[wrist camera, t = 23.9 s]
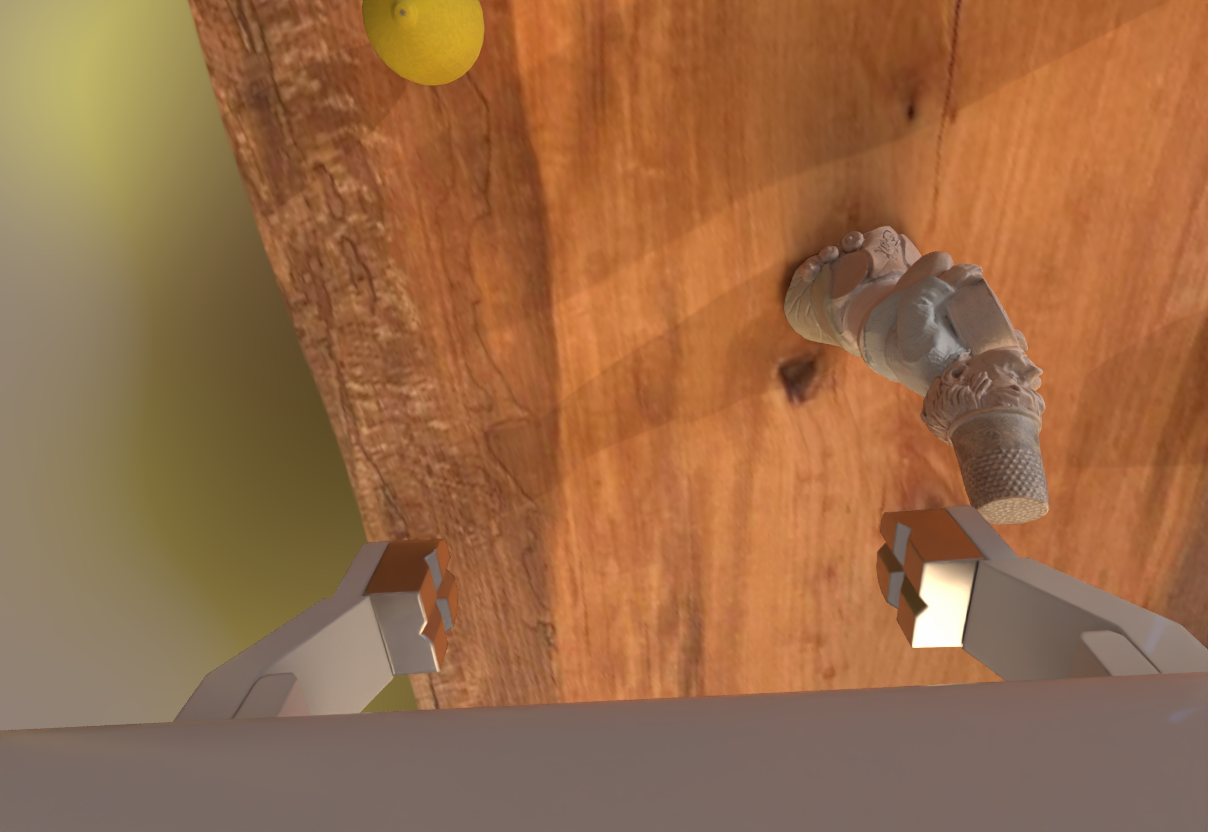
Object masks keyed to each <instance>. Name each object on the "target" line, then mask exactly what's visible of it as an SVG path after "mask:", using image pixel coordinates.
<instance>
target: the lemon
mask: <svg viewBox="0 0 1208 832" xmlns="http://www.w3.org/2000/svg"><path fill="white" fill-rule="evenodd" d="M362 12H363V23H364V26H365V29H366V33H367V36H368V39H369V41H370V42H371V44H372V46H373V48H374V50H375V51H376V53H377V55H378V56H379V57H380V58H381V59H382V60H383V61H384V63H385V64H386V65H387V66H388V67H389V68H390V69H392V70H393V71H394V72H396V73H397V74H399V75H400V76H401V77H403V78H405V79H408V80H410V81H413V82H415V83H418V84H424V85H432V86H434V85H441V84H447V83H450V82H452V81H454V80H456V79H458V78H460V77H461V76H462V75H464V74H465V73H466V72H467V71H468V70H469V69H470V68H471V67H472V65H473V64H474V62H475V61H476V59H477V58H478V56H479V53H480V50H481V47H482V44H483V36H484V20H483V12H482V9H481V6H480V3H479V0H363V3H362Z"/></svg>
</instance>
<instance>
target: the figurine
mask: <svg viewBox="0 0 1208 832" xmlns="http://www.w3.org/2000/svg"><path fill="white" fill-rule="evenodd" d="M982 272H983V269H982V268H981V267H980V266H977V265H975V264H965V263H960V264H957V265H954V263H953V260H952V258H951V256H950V254H949V253H946V252H942V251H935V252H931V253H929V254H926V255H924V256H923V257H921V255H920V253H919V251H918V250H917V248H916V247H915V246H914V244H913V243H912V242H911V241H910V240H909V239H908V237H906V236H905V235H903V234H899V235H897V233H896V232H895V231H894V230H893V229H892V228H891V227H890V226H883V227H879V228H876V229H875V230H872V231H868V232H866V233H864V234H861V233H860V232H856V231H852V232H849V233H847V234H845V235H844V237H843V239H842V241H841V243H839V244H837V245H835V246H831V245H830V246H826V247H825V248H823V249H822V250H821V251H820V252H819V255H815V256H812V257H809V258H807V260H806V261H805V262H804V263H803V264H801V265H800V267H799V268H798V269H797V270H796V272H795V274H794V276H793V278H792V281H791V283H790V287H789V288H788V292H787V294H786V297H785V305H784V312H785V315H786V318H787V321H788V322H789V324H790V325H791V326H792V328H793V329H794V331H796V332H797V333H798V334H801V335H802V337H804V338H806V339H807V340H811V341H815V342H819V343H821V342H822V343H824V344H831V345H837V346H839V347H841V348H843V349H845V350H846V351H847V352H849V353H851V354H852V355H854V356H857V357H862V359H863V360H864V362H865V363H866V364H867V365H868V366H869V367H870V368H871V369H872V370H873V371H875V372H876V373H878V374H880V375H882V376H885V377H886V379H888V380H890V381H894V382H901V383H902V384H904V385H905V386H906V387H907V388H909V389H910V390H912V391H914V392H916V393H918V394H920V395H922V396H923V397H925V399H924V401H923V409H922V412H921V414H920V417H921V419H922V421H923V422H925V423H926V425H927V427H928V428H929V430H930V431H931V432H933V433H934V434H935V436H936V437H937V438H939V440H940V441H944V443H946V444H948V445H952V446H953V447H954V451H955V453H956V456H957V459H958V463H959V467H960V470H961V474H962V478H963V482H964V486H965V490H966V492H967V495H968V497H969V501H970V504H971V506H972V507H974V508H975V509H976V510H977V511H978V512H979V513H980V514H981V515H982V516H983V518H984V519H985V520H986V521H987V522H988V523H994V524H1003V525H1005V524H1018V523H1025V522H1027V521H1032V520H1037V519H1039V518H1041V517H1043V516H1044V515H1045V514H1046V513H1047V511H1048V510H1049V498H1048V488H1047V482H1046V478H1045V472H1044V468H1043V462H1042V458H1041V453H1040V446H1039V437H1038V434H1039V433H1040V431H1041V422H1042V419H1041V415H1042V412H1044V410H1045V403H1044V401H1043V398H1042V397H1041V396H1040V395H1039V394H1038V393H1037V392H1036V390H1037V389H1038V388H1039V387H1040V385H1041V379H1040V377H1038V376H1040V375H1041V374H1042V373H1043V371H1042V369H1041V368H1038V367H1037V366H1035V365H1034V363H1033V362H1031V361H1030V360H1029V358H1028V356H1027V355H1025V354H1024V352H1026V351H1027V349H1028V345H1027V343H1026V341H1025V338H1024V335H1023V334H1022V333H1021V332H1020V331H1019V330H1016V329H1014V328H1013V325H1012V323H1011V321H1010V320H1009V318H1008V316H1007V314H1006V312H1005V310H1004V308H1003V306H1002V305H1001V303H1000V301H999V299H998V298H997V296H996V294H995V293H994V292H993V290H992V289H991V288H990V286H989V285H988V283H987V282H986V281H985V279H984V278H983V277H982V275H981V274H982Z"/></svg>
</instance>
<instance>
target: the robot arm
mask: <svg viewBox="0 0 1208 832" xmlns="http://www.w3.org/2000/svg"><path fill="white" fill-rule="evenodd" d="M880 533H881V534H882V536H883V538H884V539H885V541H886V543H885V544H884V545H883V546H882V547H881V548H880V549H879V550H878V552H877V564H876V568H877V576H878V583H879V586H880V589H881V592H882V594H883V596H884V598H885V600H886V602H887V603H889V604H890V605H892V606H894V607H895V608H897V609H898V612H897V622H898V624H899V626H900V627H901V629H902V631H903V633H904V635H905V636H906V638H907V640H908V642H909V644H910V645H911V647H952V646H962V649H964V650H965V651H966V652H968V653H969V654H970V655H972V656H973V657H974V658H976V659H977V660H978V661H980V662H981V663H982V664H984V665H985V666H987V667H988V668H989V669H991V670H992V671H993V672H995V673H996V674H997V675H999V676H1000V677H1001V678H1003V679H1004V680H1006V681H1004V682H983V683H963V684H943V685H922V686H902V687H882V688H861V689H841V690H821V691H800V692H780V693H760V694H739V695H719V696H698V697H678V698H657V699H637V700H616V701H596V702H575V703H555V704H534V705H514V706H493V707H473V708H452V709H432V710H411V711H393V712H372V713H371V712H370V713H360V712H361V711H362V710H363V709H364V708H365V707H366V706H367V705H368V704H369V703H370V702H371V701H372V699H373V698H374V697H375V696H376V695H377V694H378V693H379V692H380V691H381V690H382V689H383V688H384V687H385V686H386V685H387V684H388V683H389V682H390V681H391V680H392V679H393V676H394V675H407V674H419V673H432V672H440V669H441V666H442V663H443V660H444V656H445V653H446V650H447V647H448V641H447V636H446V632H448V631H449V630H450V629H451V628H452V627H454V624H455V620H456V617H457V609H458V589H457V583H456V578H455V576H454V575H453V574H452V573H451V572H450V571H448V570H447V567H448V564H449V561H450V558H451V556H450V552H449V549H448V545H447V542H446V541H445V540H444V539H430V540H406V541H392V542H391V541H383V542H368V543H366V544H364V545H362V546H361V548H360V550H359V551H358V553H357V555H356V556H355V558H354V560H353V562H352V563H351V565H350V567H349V569H348V571H347V572H346V574H345V576H344V577H343V579H342V581H341V583H340V585H339V586H338V588H337V589H336V591H335V593H334V595H333V596H332V598H324V599H322V600H321V601H319V602H318V603H316V604H314V605H313V606H311V607H310V608H308V609H307V610H305V611H304V612H302V613H301V614H299V615H298V616H296V617H294V618H293V619H291V620H290V621H288V622H287V623H285V624H284V625H282V626H281V627H279V628H278V629H276V630H275V631H273V632H271V633H270V634H269V635H267V636H265V637H264V638H262V639H261V640H259V641H258V642H256V643H255V644H253V645H252V646H250V647H249V648H247V649H245V650H244V651H243V652H241V653H239V654H238V655H236V656H235V657H233V658H232V659H230V660H229V661H227V662H226V663H224V664H222V665H221V666H220V667H218V668H216V669H215V670H213V671H212V672H210V673H209V674H207V675H206V676H205V678H204V679H203V680H202V682H201V683H200V685H199V686H198V687H197V689H196V690H195V692H194V693H193V694H192V696H191V697H190V698H189V700H188V701H187V703H186V704H185V705H184V707H183V708H182V710H181V711H180V713H179V714H178V715H177V717H176V718H175V720H174V721H173V722H167V723H146V724H127V725H105V726H87V727H65V728H45V729H25V730H4V731H0V832H1208V649H1206V648H1205V647H1204V646H1203V645H1202V644H1201V643H1200V642H1199V641H1198V640H1197V639H1196V638H1195V637H1194V636H1192V635H1191V634H1190V633H1189V632H1188V631H1187V630H1186V629H1185V628H1184V627H1183V626H1182V625H1180V624H1178V623H1176V622H1173V621H1171V620H1169V619H1167V618H1164V617H1162V616H1160V615H1157V614H1155V613H1153V612H1151V611H1148V610H1146V609H1144V608H1142V607H1139V606H1137V605H1135V604H1133V603H1130V602H1128V601H1126V600H1124V599H1121V598H1119V597H1117V596H1114V595H1112V594H1110V593H1108V592H1105V591H1103V590H1101V589H1099V588H1096V587H1094V586H1092V585H1090V584H1087V583H1085V582H1083V581H1081V580H1078V579H1076V578H1074V577H1071V576H1069V575H1067V574H1065V573H1062V572H1060V571H1058V570H1056V569H1053V568H1051V567H1049V566H1047V565H1044V564H1042V563H1040V562H1037V561H1035V560H1033V559H1031V558H1019V557H1018V555H1017V554H1016V553H1015V552H1014V551H1013V550H1012V549H1011V548H1010V547H1009V545H1008V544H1007V543H1006V542H1005V541H1004V540H1003V539H1002V538H1001V536H1000V535H999V534H998V533H997V532H996V531H995V530H994V529H993V528H992V526H991V525H990V524H989V523H988V522H987V521H986V520H985V519H984V518H983V516H982V515H981V514H980V513H979V512H978V511H977V510H976V509H975V508H974V507H972V506H969V505H964V506H953V507H942V508H938V509H925V510H911V511H898V512H885V513H884V514H883V517H882V519H881V525H880Z"/></svg>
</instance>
